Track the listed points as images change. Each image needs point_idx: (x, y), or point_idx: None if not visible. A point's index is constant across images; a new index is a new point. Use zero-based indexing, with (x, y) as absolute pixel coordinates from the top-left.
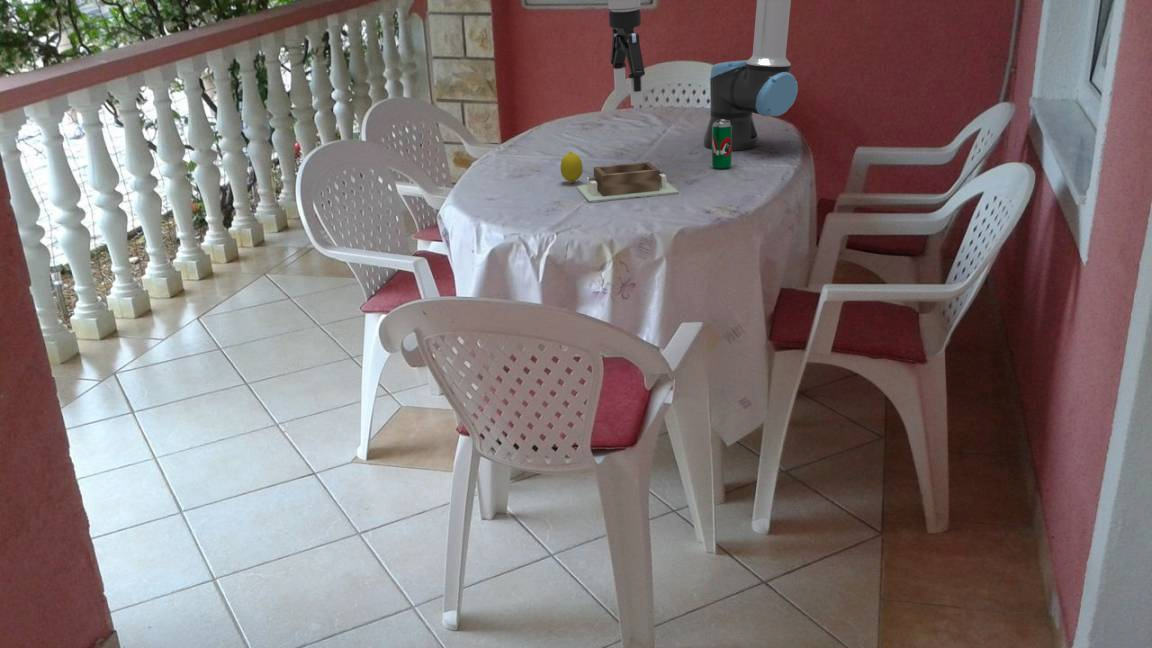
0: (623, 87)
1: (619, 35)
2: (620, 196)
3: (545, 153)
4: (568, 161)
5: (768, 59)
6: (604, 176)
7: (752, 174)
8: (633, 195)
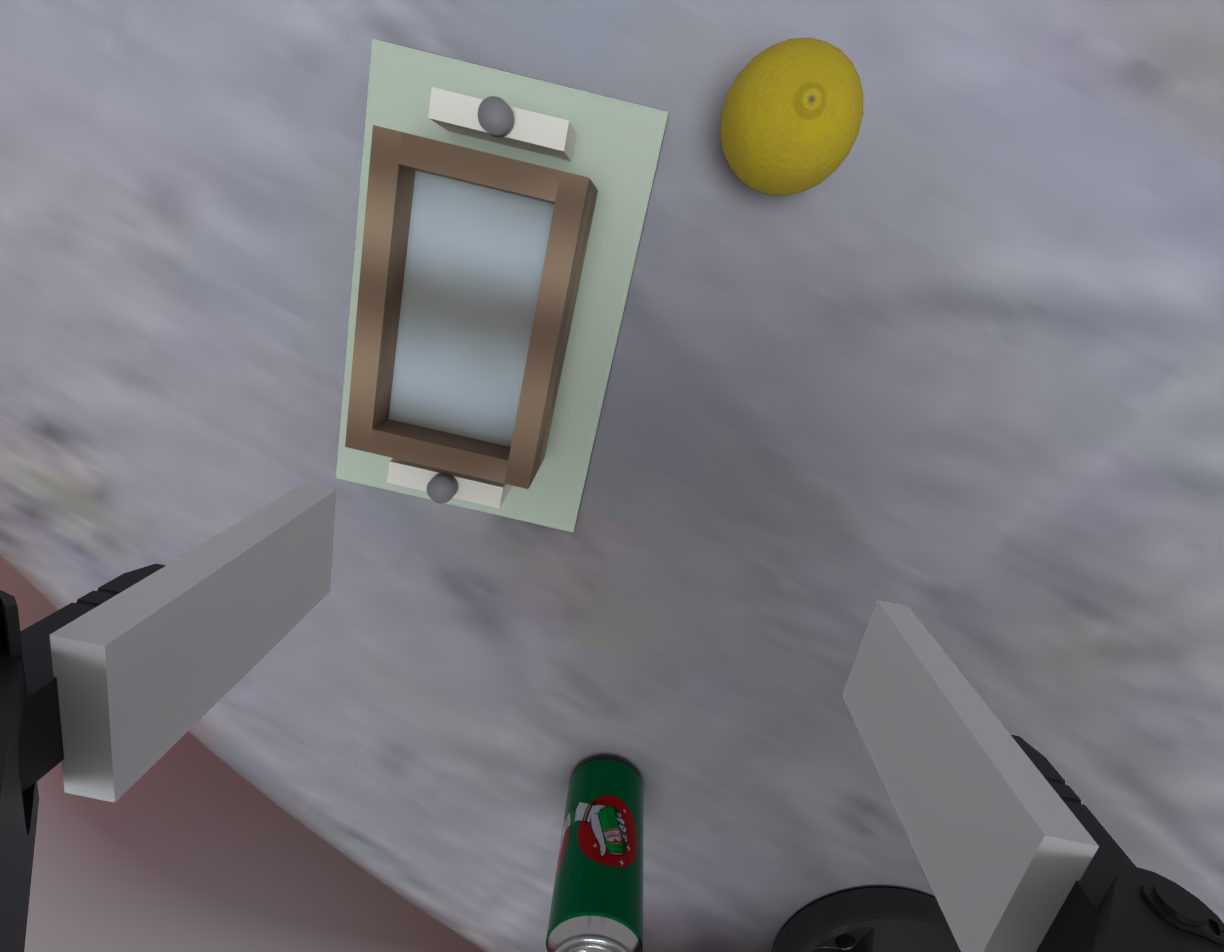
0: (877, 724)
1: None
2: None
3: None
4: (757, 64)
5: None
6: (374, 140)
7: (460, 803)
8: None
